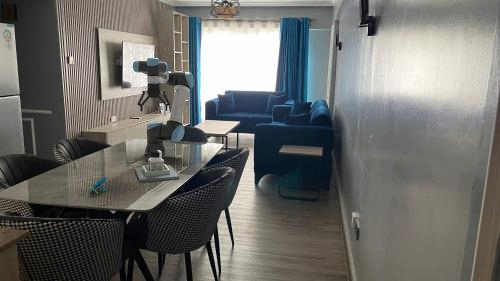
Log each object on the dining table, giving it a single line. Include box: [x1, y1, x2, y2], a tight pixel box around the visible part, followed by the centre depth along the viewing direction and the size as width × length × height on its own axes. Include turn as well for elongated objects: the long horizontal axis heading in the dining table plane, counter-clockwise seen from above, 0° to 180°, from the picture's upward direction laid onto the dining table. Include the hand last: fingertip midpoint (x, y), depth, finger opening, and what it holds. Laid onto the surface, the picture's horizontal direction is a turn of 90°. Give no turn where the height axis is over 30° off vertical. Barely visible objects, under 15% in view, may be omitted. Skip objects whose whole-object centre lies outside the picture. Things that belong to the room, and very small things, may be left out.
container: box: [147, 150, 165, 171], centre depth 226 cm, size 8×8×13 cm
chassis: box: [134, 163, 180, 183], centre depth 228 cm, size 26×22×4 cm
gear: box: [89, 176, 108, 195], centre depth 195 cm, size 11×6×10 cm
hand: (154, 116), depth 244 cm, fingers open, 13 cm apart
